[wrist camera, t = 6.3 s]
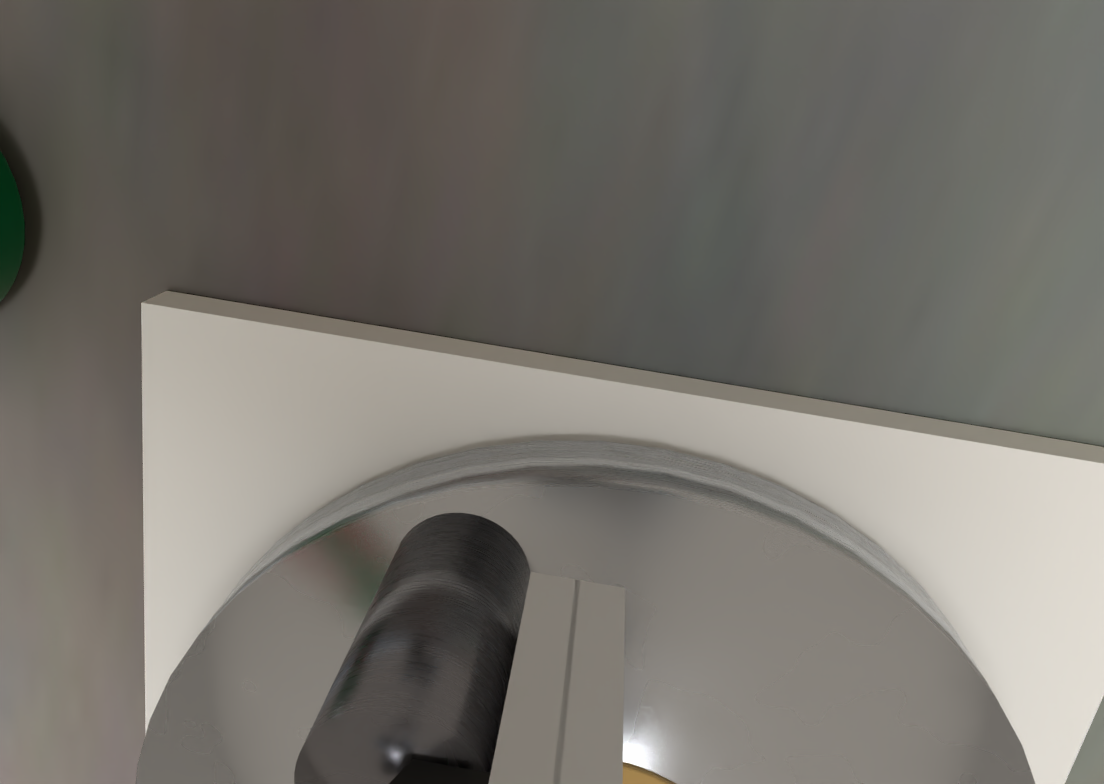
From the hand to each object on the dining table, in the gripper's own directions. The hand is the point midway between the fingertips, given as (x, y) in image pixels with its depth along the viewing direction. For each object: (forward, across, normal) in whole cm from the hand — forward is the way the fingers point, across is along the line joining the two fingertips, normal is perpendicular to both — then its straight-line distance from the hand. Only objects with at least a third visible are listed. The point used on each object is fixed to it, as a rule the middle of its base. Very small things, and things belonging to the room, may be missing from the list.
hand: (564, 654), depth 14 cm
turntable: (+4, +1, -7) cm, 8 cm away
